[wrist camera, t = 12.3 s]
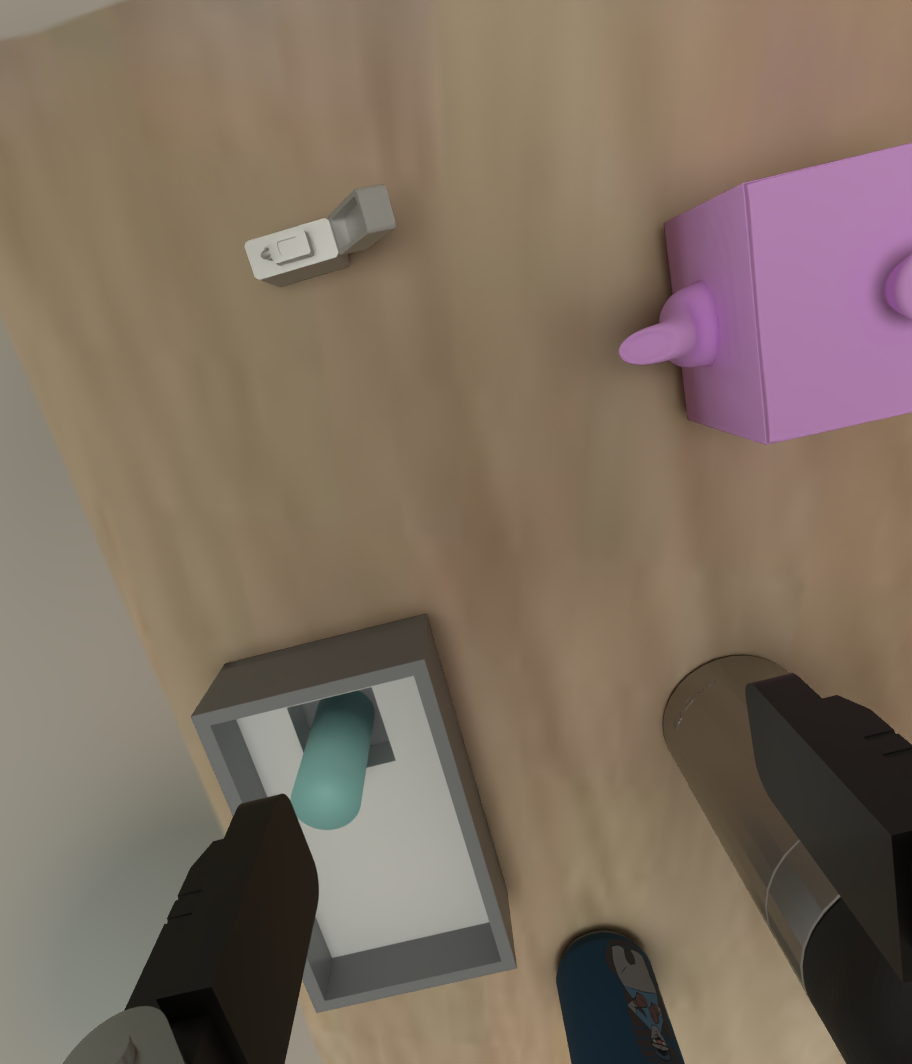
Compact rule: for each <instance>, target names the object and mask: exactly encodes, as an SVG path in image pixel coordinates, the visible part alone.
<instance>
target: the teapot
mask: <svg viewBox="0 0 912 1064" xmlns="http://www.w3.org/2000/svg"><path fill="white" fill-rule="evenodd" d="M664 230H665V238H666V246H667V255H668V263H669V271H670V279H671V287H672V296H671V297H670V298H669V299H668V300H667V301H666V303H665V305H664V306H663V308H662V310H661V313H660V317H659V324H656V325H653V326H650V327H646V328H644V329H642V330H640V331H637V332H635V333H634V334H632V335H631V336H629V337H628V338H626V339H625V340H624V341H623V342H622V344H621V346H620V347H619V355H620V358H621V359H622V360H624V361H625V362H627V363H630V364H636V365H648V364H655V363H660V362H664V361H668V360H669V361H671V362H672V363H673V364H675V365H677V366H680V367H681V369H682V377H683V385H684V394H685V402H686V410H687V418H688V420H691V421H694V422H697V423H700V424H703V425H706V426H709V427H712V428H716V429H719V430H722V431H725V432H728V433H731V434H734V435H737V436H740V437H743V438H746V439H750V440H753V441H756V442H759V443H762V444H765V445H767V444H772V443H776V442H781V441H785V440H789V439H794V438H798V437H803V436H807V435H812V434H816V433H821V432H825V431H830V430H834V429H839V428H843V427H848V426H852V425H857V424H861V423H866V422H870V421H875V420H879V419H884V418H888V417H893V416H897V415H902V414H906V413H911V412H912V143H909V144H905V145H901V146H897V147H892V148H888V149H884V150H880V151H876V152H871V153H867V154H863V155H859V156H855V157H850V158H846V159H842V160H838V161H834V162H829V163H825V164H821V165H817V166H813V167H808V168H804V169H800V170H796V171H792V172H787V173H783V174H779V175H775V176H771V177H766V178H762V179H758V180H754V181H750V182H746V183H742V184H740V185H738V186H736V187H734V188H732V189H730V190H728V191H726V192H724V193H722V194H720V195H718V196H716V197H714V198H712V199H710V200H708V201H706V202H704V203H702V204H700V205H698V206H696V207H694V208H692V209H691V210H689V211H687V212H685V213H683V214H681V215H679V216H677V217H675V218H673V219H671V220H669V221H667V222H665V223H664Z"/></svg>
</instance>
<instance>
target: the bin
mask: <svg viewBox="0 0 912 1064" xmlns="http://www.w3.org/2000/svg"><path fill="white" fill-rule="evenodd" d="M353 691H359V692H361V693H362V694H364V695H365V696H366V697H367V698H368V699H369V700H370V702H371V703H372V705H373V708H374V721H373V728H372V734H371V741H370V748H369V754H368V761H367V768H366V774H365V781H364V787H363V794H362V801H361V807H360V810H359V813H358V815H357V816H356V817H355V819H354V820H353V821H351V822H350V823H349V824H347V825H346V826H344V827H341V828H338V829H334V830H320V829H316V828H312V827H310V826H308V825H306V824H304V823H303V822H302V821H300V820H299V819H298V821H299V823H300V826H301V828H302V831H303V834H304V836H305V839H306V841H307V844H308V846H309V849H310V851H311V854H312V857H313V859H314V862H315V865H316V869H317V874H318V881H319V900H318V906H317V911H316V916H315V921H314V925H313V930H312V935H311V940H310V945H309V949H308V954H307V959H306V964H305V968H304V973H303V978H302V980H303V982H304V985H305V987H306V990H307V992H308V994H309V997H310V999H311V1001H312V1004H313V1006H314V1008H315V1011H316V1013H319V1012H323V1011H328V1010H332V1009H337V1008H341V1007H346V1006H350V1005H355V1004H359V1003H364V1002H368V1001H373V1000H377V999H382V998H386V997H390V996H395V995H399V994H404V993H408V992H413V991H417V990H422V989H426V988H431V987H435V986H440V985H444V984H449V983H453V982H458V981H462V980H467V979H471V978H475V977H480V976H484V975H489V974H493V973H498V972H502V971H507V970H511V969H516V968H517V965H516V957H515V949H514V941H513V933H512V926H511V918H510V910H509V902H508V894H507V889H506V886H505V882H504V879H503V875H502V872H501V868H500V865H499V862H498V858H497V855H496V851H495V848H494V844H493V841H492V838H491V834H490V831H489V827H488V824H487V820H486V817H485V814H484V810H483V807H482V803H481V800H480V797H479V793H478V790H477V786H476V783H475V779H474V776H473V773H472V769H471V766H470V762H469V759H468V755H467V752H466V749H465V745H464V742H463V738H462V735H461V732H460V728H459V725H458V721H457V718H456V714H455V711H454V708H453V704H452V701H451V697H450V694H449V690H448V687H447V684H446V680H445V677H444V673H443V670H442V667H441V663H440V660H439V656H438V653H437V649H436V646H435V643H434V639H433V636H432V632H431V629H430V625H429V622H428V619H427V615H426V614H423V615H419V616H415V617H411V618H407V619H403V620H399V621H395V622H391V623H387V624H383V625H379V626H375V627H371V628H367V629H363V630H359V631H355V632H351V633H347V634H343V635H339V636H335V637H331V638H327V639H323V640H319V641H315V642H311V643H307V644H303V645H299V646H295V647H291V648H287V649H283V650H279V651H275V652H271V653H267V654H263V655H259V656H255V657H251V658H247V659H243V660H239V661H235V662H230V663H226V664H225V665H224V666H223V668H222V669H221V671H220V672H219V674H218V675H217V677H216V679H215V680H214V682H213V683H212V685H211V686H210V688H209V689H208V691H207V692H206V694H205V695H204V697H203V699H202V700H201V702H200V703H199V705H198V706H197V708H196V709H195V711H194V712H193V714H192V715H191V718H192V721H193V723H194V725H195V728H196V730H197V733H198V735H199V737H200V740H201V742H202V744H203V747H204V749H205V751H206V754H207V756H208V758H209V761H210V763H211V766H212V768H213V770H214V773H215V775H216V777H217V780H218V782H219V784H220V787H221V789H222V791H223V794H224V796H225V799H226V801H227V803H228V806H229V808H230V810H231V813H232V815H233V816H234V814H235V811H236V809H237V807H238V806H239V805H240V804H241V803H245V802H249V801H253V800H257V799H262V798H266V797H270V796H274V795H278V794H285V795H287V796H288V798H289V799H291V793H292V790H293V787H294V783H295V780H296V777H297V773H298V770H299V767H300V763H301V760H302V757H303V753H304V750H305V747H306V744H307V740H308V737H309V734H310V730H311V727H312V724H313V720H314V717H315V714H316V710H317V707H318V704H319V702H320V701H321V699H324V698H328V697H333V696H337V695H341V694H345V693H349V692H353ZM290 801H291V800H290Z"/></svg>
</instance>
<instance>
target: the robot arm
mask: <svg viewBox="0 0 912 1064" xmlns="http://www.w3.org/2000/svg"><path fill="white" fill-rule="evenodd" d="M663 730H664V738H665V741H666V744H667V747H668V749H669V751H670V752H671V754H672V756H673V758H674V760H675V761H676V763H677V765H678V767H679V768H680V770H681V772H682V774H683V776H684V777H685V779H686V781H687V783H688V784H689V787H690V788H691V790H692V792H693V794H694V796H695V797H696V799H697V801H698V803H699V805H700V806H701V808H702V810H703V812H704V813H705V815H706V817H707V819H708V821H709V822H710V824H711V826H712V828H713V829H714V831H715V833H716V835H717V836H718V838H719V840H720V842H721V844H722V845H723V847H724V849H725V851H726V852H727V854H728V856H729V858H730V860H731V861H732V863H733V865H734V867H735V868H736V870H737V872H738V874H739V876H740V877H741V879H742V881H743V883H744V884H745V886H746V888H747V890H748V891H749V893H750V895H751V897H752V899H753V900H754V902H755V904H756V906H757V907H758V909H759V911H760V913H761V915H762V916H763V918H764V920H765V922H766V923H767V925H768V927H769V929H770V930H771V932H772V934H773V936H774V937H775V939H776V941H777V942H778V944H779V946H780V948H781V949H782V951H783V953H784V955H785V956H786V958H787V960H788V962H789V964H790V965H791V967H792V969H793V971H794V972H795V974H796V976H797V978H798V979H799V981H800V983H801V985H802V987H803V988H804V990H805V992H806V994H807V995H808V997H809V999H810V1001H811V1003H812V1004H813V1006H814V1008H815V1009H816V1011H817V1013H818V1015H819V1016H820V1018H821V1020H822V1021H823V1023H824V1025H825V1027H826V1028H827V1030H828V1032H829V1034H830V1035H831V1037H832V1039H833V1041H834V1042H835V1044H836V1046H837V1048H838V1049H839V1051H840V1053H841V1055H842V1057H843V1058H844V1060H845V1062H846V1064H912V745H911V744H910V743H909V742H908V741H906V740H905V739H904V738H903V737H902V736H901V735H899V734H895V732H894V729H892V728H891V727H890V726H889V725H888V724H887V723H885V722H884V721H883V720H882V719H881V718H880V717H878V716H877V715H876V714H875V713H874V712H873V711H871V710H870V709H868V708H866V707H863V706H861V705H859V704H857V703H854V702H852V701H850V700H847V699H845V698H843V697H840V696H838V695H835V696H831V697H827V698H823V699H822V698H821V697H820V696H819V695H818V694H817V693H816V692H814V691H813V690H812V689H811V688H810V687H809V686H808V685H807V684H806V683H805V682H804V681H803V680H802V679H801V678H799V677H798V676H797V675H795V674H793V673H790V674H789V673H788V672H787V671H786V670H784V669H783V668H781V667H780V666H778V665H777V664H775V663H774V662H771V661H768V660H766V659H763V658H760V657H753V656H747V655H745V656H730V657H726V658H721V659H717V660H714V661H712V662H710V663H708V664H705V665H703V666H701V667H700V668H698V669H697V670H695V671H694V672H692V673H691V674H689V675H688V676H687V677H686V678H685V679H684V680H683V681H682V682H681V683H680V684H679V685H678V687H677V688H676V690H675V691H674V693H673V694H672V696H671V697H670V699H669V702H668V704H667V707H666V709H665V714H664V720H663ZM318 900H319V881H318V874H317V869H316V865H315V862H314V859H313V857H312V854H311V851H310V849H309V846H308V844H307V841H306V839H305V836H304V834H303V831H302V828H301V826H300V823H299V821H298V818H297V816H296V813H295V811H294V808H293V805H292V803H291V801H290V799H289V798H288V796H287V795H285V794H278V795H274V796H270V797H266V798H262V799H257V800H253V801H249V802H245V803H241V804H240V805H239V806H238V807H237V809H236V811H235V814H234V816H233V818H232V821H231V823H230V826H229V828H228V830H227V833H226V835H225V837H224V839H221V840H217V841H213V842H212V844H211V845H210V846H209V847H208V848H207V849H206V851H205V852H204V853H203V854H202V855H201V856H200V858H199V859H198V860H197V861H196V862H195V863H194V864H193V866H192V867H191V868H190V870H189V872H188V875H187V877H186V879H185V881H184V883H183V885H182V888H181V890H180V892H179V894H178V900H177V901H175V903H174V905H173V907H172V909H171V911H170V913H169V915H168V918H167V919H168V923H167V924H164V926H163V928H162V930H161V933H160V935H159V937H158V939H157V941H156V944H155V946H154V948H153V950H152V952H151V954H150V957H149V959H148V961H147V963H146V965H145V967H144V969H143V971H142V974H141V976H140V978H139V980H138V982H137V985H136V987H135V989H134V991H133V993H132V995H131V997H130V999H129V1002H128V1004H127V1006H126V1008H125V1010H124V1011H123V1012H120V1013H118V1014H116V1015H115V1016H113V1017H111V1018H109V1019H107V1020H106V1021H105V1022H103V1023H102V1024H100V1025H99V1026H97V1027H96V1028H95V1029H94V1030H93V1031H91V1032H90V1033H89V1034H88V1035H87V1036H86V1037H85V1038H84V1039H83V1040H82V1041H81V1042H80V1043H79V1044H78V1045H77V1046H76V1047H75V1048H74V1049H73V1051H72V1052H71V1053H70V1054H69V1056H68V1057H67V1058H66V1060H65V1061H64V1063H63V1064H285V1059H286V1054H287V1049H288V1045H289V1040H290V1035H291V1030H292V1025H293V1021H294V1015H295V1011H296V1006H297V1002H298V997H299V992H300V987H301V983H302V978H303V973H304V968H305V964H306V959H307V954H308V949H309V945H310V940H311V935H312V930H313V925H314V921H315V916H316V911H317V906H318Z"/></svg>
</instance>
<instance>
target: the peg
mask: <svg viewBox="0 0 912 1064" xmlns="http://www.w3.org/2000/svg"><path fill="white" fill-rule="evenodd" d="M373 721H374V708H373V705H372V703H371V702H370V700H369V699H368V698H367V697H366V696H365V695H364V694H362V693H361V692H359V691H353V692H349V693H345V694H341V695H337V696H333V697H328V698H324V699H321V701H320V702H319V704H318V707H317V710H316V714H315V717H314V720H313V724H312V727H311V730H310V734H309V737H308V740H307V744H306V747H305V750H304V753H303V757H302V760H301V763H300V767H299V770H298V773H297V777H296V780H295V783H294V787H293V790H292V793H291V799H290V800H291V803H292V805H293V808H294V811H295V813H296V816H297V818H298V819H299V820H300V821H302V822H303V823H304V824H306V825H308V826H310V827H312V828H316V829H320V830H334V829H338V828H341V827H344V826H346V825H347V824H349V823H350V822H351V821H353V820H354V819H355V817H356V816H357V815H358V813H359V810H360V807H361V801H362V794H363V787H364V781H365V774H366V768H367V761H368V754H369V748H370V741H371V734H372V728H373Z"/></svg>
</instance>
